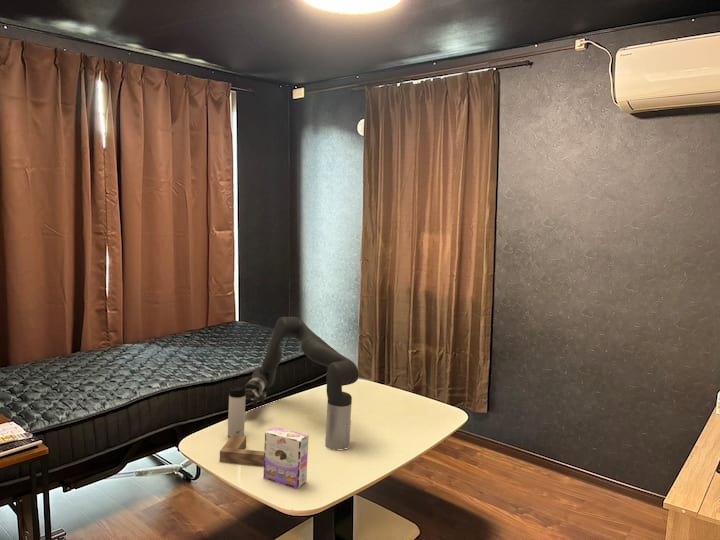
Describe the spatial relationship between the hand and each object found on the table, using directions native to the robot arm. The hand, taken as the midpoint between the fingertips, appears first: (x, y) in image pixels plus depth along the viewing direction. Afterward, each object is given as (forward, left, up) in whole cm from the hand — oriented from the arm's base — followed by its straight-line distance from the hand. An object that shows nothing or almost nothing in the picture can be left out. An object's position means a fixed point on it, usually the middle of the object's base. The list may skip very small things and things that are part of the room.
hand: (243, 401), depth 220 cm
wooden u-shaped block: (-12, +24, -11) cm, 29 cm away
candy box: (-26, +39, -11) cm, 48 cm away
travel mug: (0, +9, -11) cm, 14 cm away
